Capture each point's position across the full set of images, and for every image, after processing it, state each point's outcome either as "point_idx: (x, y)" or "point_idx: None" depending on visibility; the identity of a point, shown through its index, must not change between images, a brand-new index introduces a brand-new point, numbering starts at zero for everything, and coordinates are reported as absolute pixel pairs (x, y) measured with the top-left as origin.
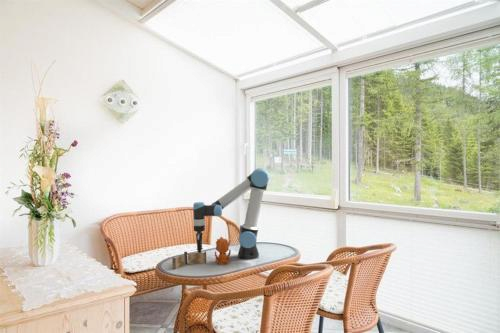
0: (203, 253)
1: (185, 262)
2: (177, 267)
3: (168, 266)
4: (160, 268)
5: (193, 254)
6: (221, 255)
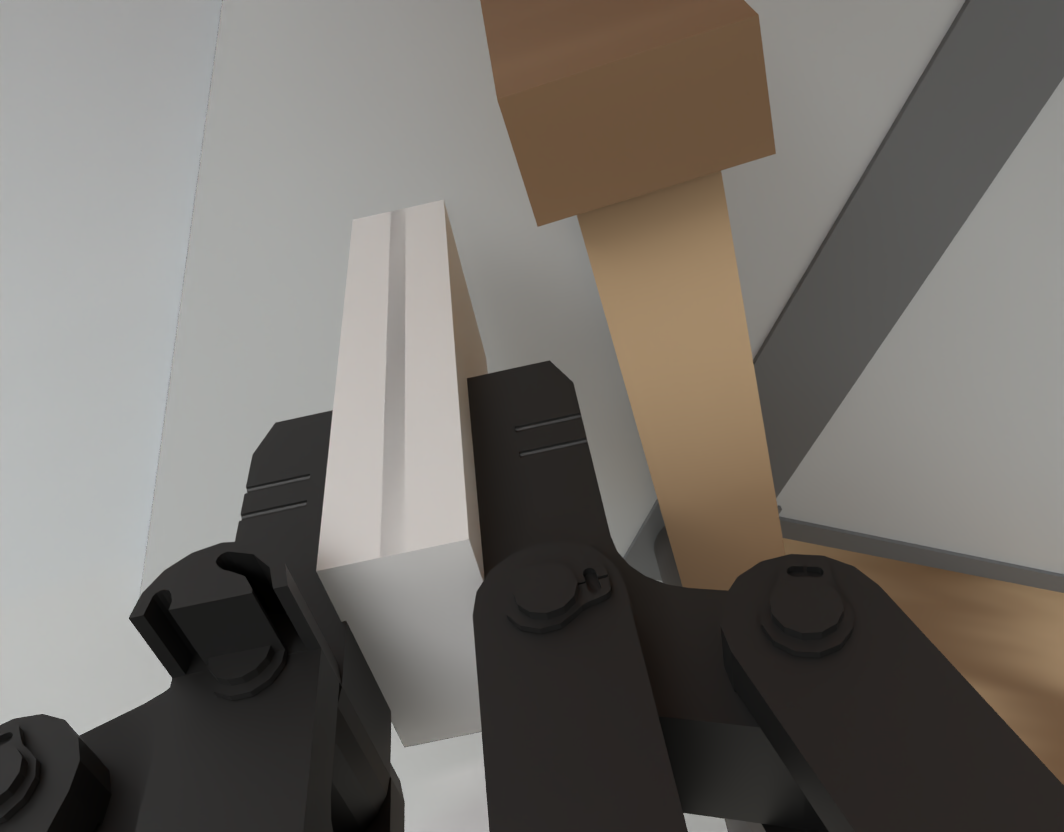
0: (723, 200)
1: None
2: (1056, 607)
3: None
4: None
5: None
6: None
